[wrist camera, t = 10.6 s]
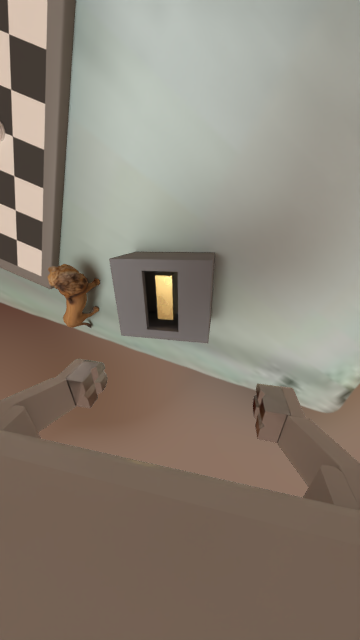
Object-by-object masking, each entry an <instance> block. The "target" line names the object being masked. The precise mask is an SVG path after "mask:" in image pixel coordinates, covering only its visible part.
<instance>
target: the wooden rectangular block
mask: <svg viewBox="0 0 360 640" xmlns="http://www.w3.org/2000/svg"><path fill="white" fill-rule="evenodd" d="M155 280H156V296H157V311H158V319H165V320H173V319H174V317H175V316H176V314H177V312H178V272H168V271H161V272H159V273H158V274H157V275H155Z"/></svg>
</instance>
